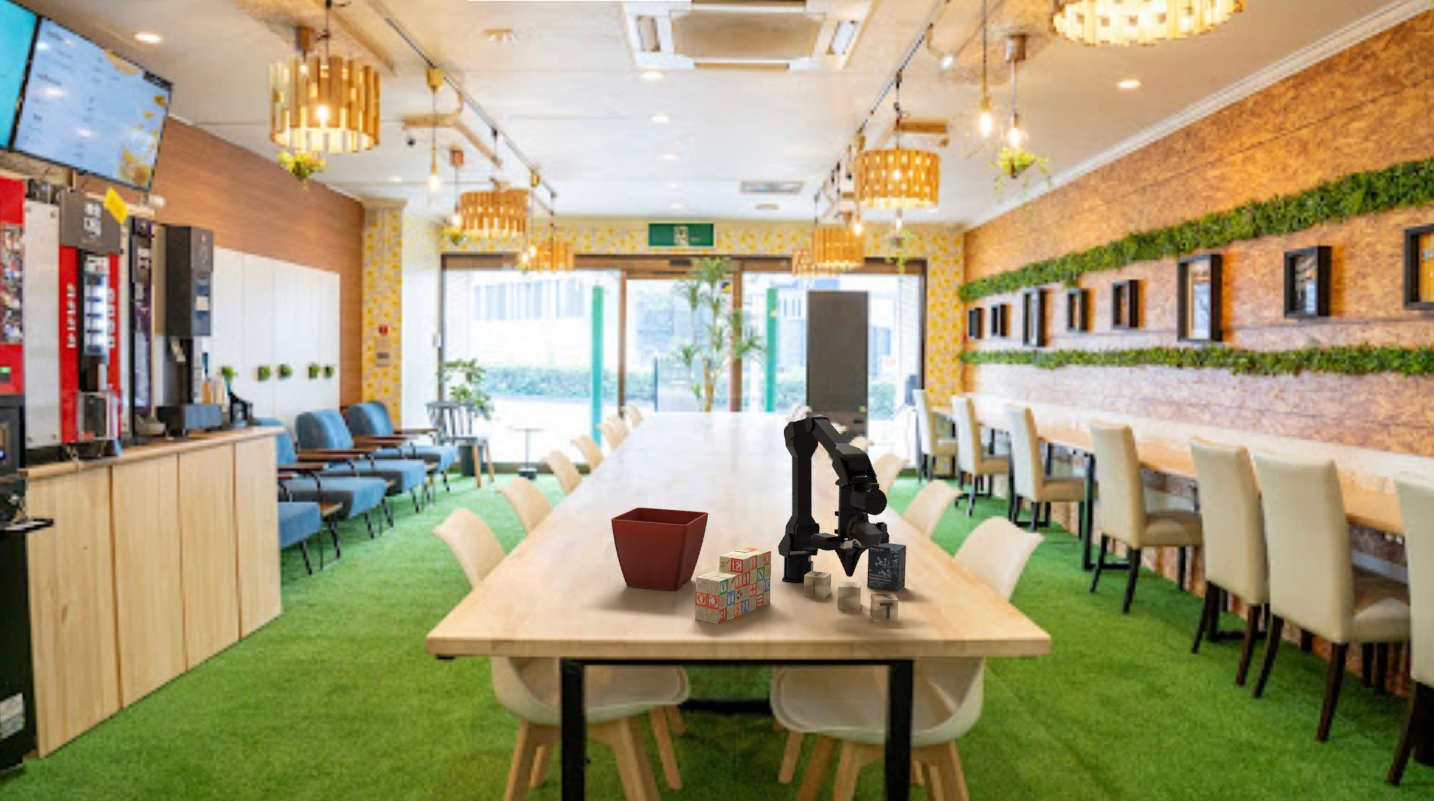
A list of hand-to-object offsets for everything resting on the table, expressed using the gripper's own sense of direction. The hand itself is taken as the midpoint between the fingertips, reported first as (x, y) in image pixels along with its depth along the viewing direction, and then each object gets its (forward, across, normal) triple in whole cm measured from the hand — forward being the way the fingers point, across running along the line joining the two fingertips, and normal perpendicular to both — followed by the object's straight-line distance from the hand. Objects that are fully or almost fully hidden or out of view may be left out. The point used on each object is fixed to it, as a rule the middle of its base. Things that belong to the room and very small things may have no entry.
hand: (849, 576), depth 214 cm
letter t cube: (+7, 0, -12) cm, 13 cm away
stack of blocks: (+7, -25, +9) cm, 27 cm away
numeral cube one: (+7, 0, +11) cm, 13 cm away
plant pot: (+7, -27, +38) cm, 47 cm away
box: (+7, +19, +8) cm, 22 cm away
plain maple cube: (+7, 0, 0) cm, 7 cm away
